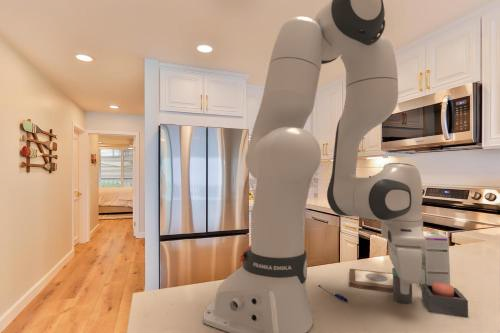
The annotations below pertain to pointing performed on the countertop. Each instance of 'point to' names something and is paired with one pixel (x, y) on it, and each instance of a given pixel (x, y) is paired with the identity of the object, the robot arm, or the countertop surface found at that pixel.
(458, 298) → the button housing
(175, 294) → the countertop surface
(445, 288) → the button
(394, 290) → the grey and teal cylinder
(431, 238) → the syrup box
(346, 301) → the ballpoint pen
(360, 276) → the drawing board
